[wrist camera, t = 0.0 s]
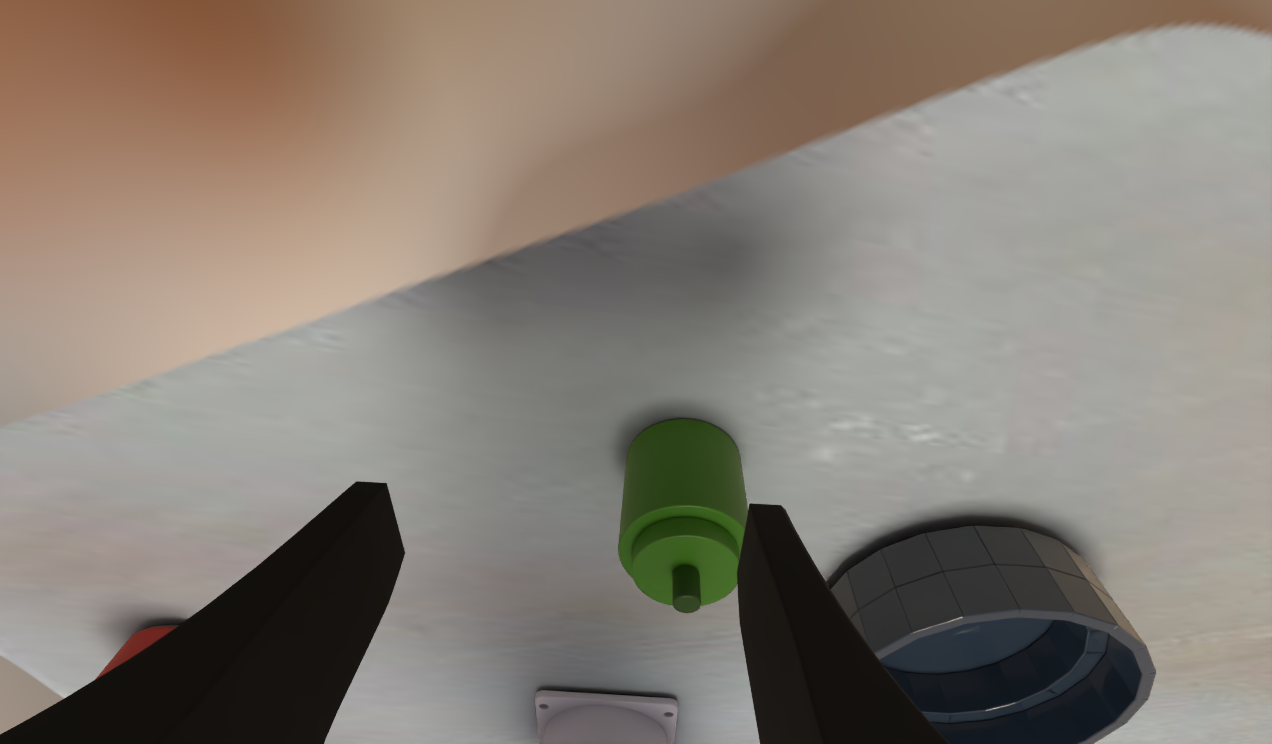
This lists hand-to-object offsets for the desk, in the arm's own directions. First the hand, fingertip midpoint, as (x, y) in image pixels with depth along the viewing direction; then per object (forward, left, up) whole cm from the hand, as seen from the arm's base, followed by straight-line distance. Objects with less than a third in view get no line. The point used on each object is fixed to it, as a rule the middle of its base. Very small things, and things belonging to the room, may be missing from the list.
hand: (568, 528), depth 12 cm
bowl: (-15, -16, -10) cm, 24 cm away
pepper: (-7, -3, -10) cm, 13 cm away
